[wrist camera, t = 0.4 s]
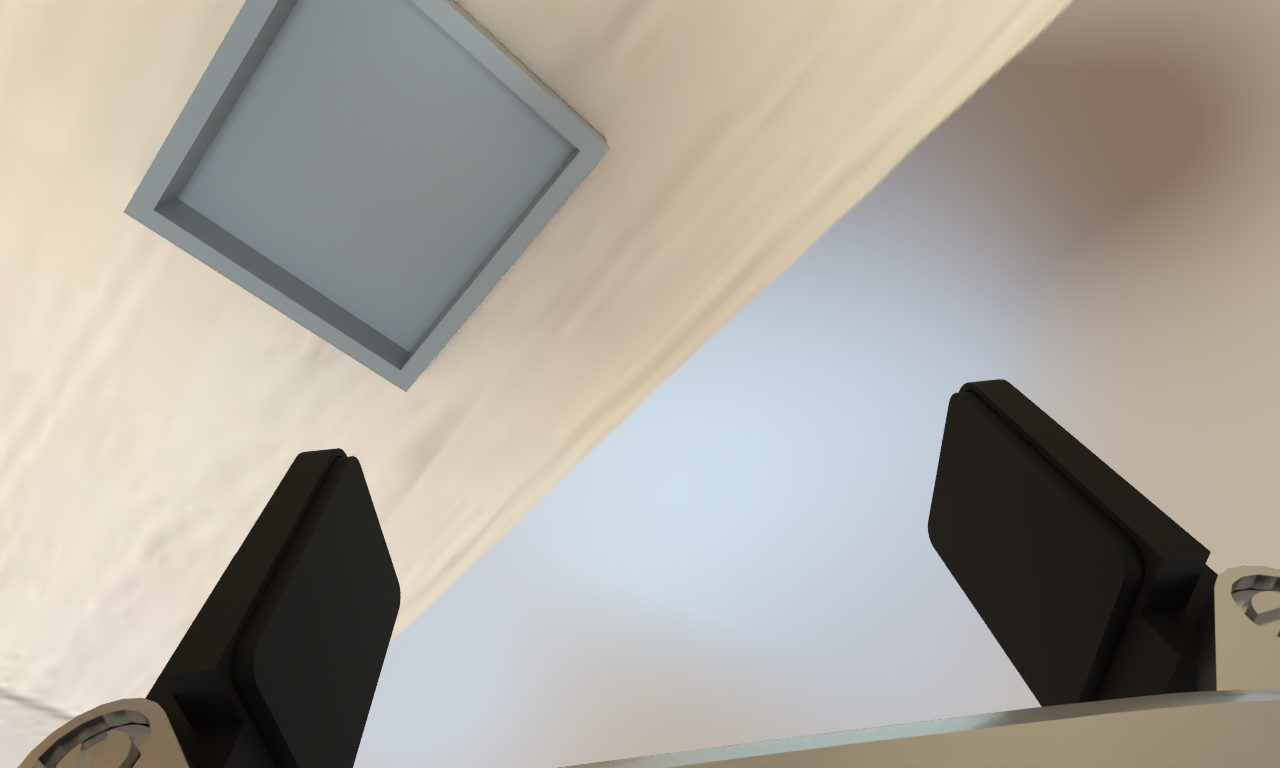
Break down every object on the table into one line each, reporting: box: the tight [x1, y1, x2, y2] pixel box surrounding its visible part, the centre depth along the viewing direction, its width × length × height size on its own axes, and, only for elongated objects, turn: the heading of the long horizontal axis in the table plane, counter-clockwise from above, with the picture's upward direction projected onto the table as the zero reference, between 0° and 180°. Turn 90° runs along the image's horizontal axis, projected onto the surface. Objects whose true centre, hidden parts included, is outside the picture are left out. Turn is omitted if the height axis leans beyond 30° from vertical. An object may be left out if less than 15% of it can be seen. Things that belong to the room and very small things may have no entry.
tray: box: [124, 0, 608, 392], centre depth 35 cm, size 18×16×3 cm
